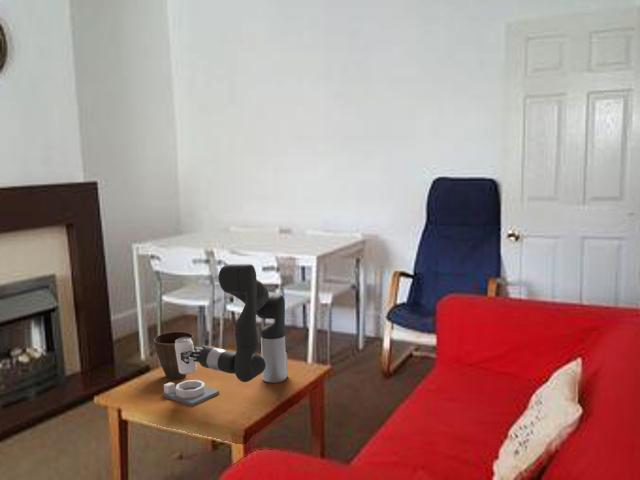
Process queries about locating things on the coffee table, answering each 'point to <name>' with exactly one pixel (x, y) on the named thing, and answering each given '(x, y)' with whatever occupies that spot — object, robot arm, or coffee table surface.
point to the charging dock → (194, 399)
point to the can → (185, 346)
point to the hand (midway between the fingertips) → (183, 350)
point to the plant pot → (169, 353)
